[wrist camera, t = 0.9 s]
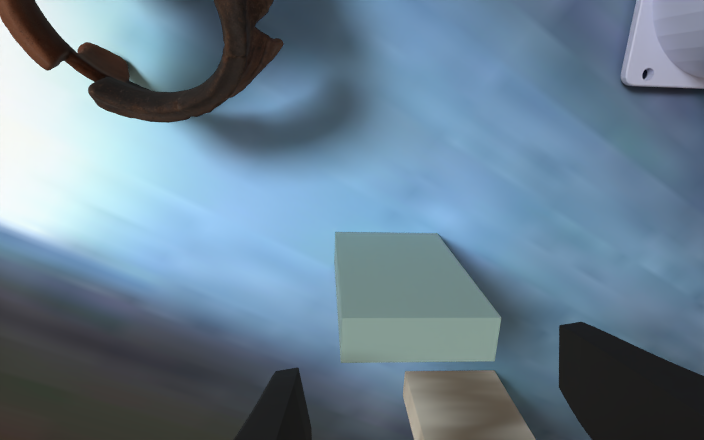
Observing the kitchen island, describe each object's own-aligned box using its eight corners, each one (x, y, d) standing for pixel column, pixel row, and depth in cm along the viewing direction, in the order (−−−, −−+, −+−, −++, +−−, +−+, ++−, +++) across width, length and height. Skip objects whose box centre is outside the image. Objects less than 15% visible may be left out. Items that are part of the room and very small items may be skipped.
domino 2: (494, 370, 24) (574, 505, 16) (490, 394, 24) (567, 536, 17) (404, 371, 23) (444, 509, 16) (402, 395, 24) (440, 541, 16)
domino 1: (436, 233, 21) (501, 317, 13) (433, 263, 22) (494, 361, 14) (335, 232, 21) (342, 318, 13) (334, 262, 21) (340, 362, 14)
